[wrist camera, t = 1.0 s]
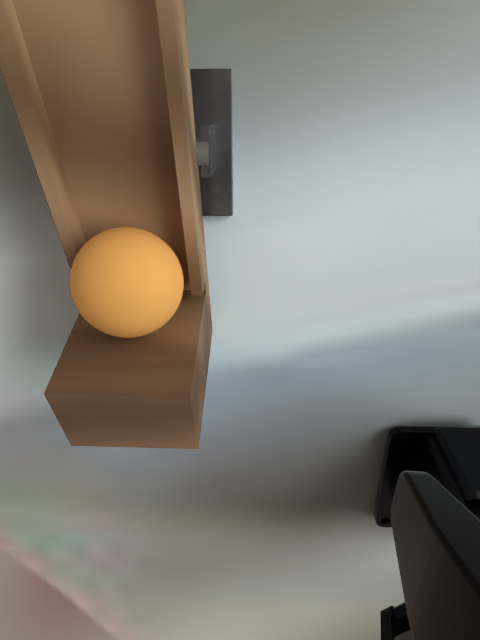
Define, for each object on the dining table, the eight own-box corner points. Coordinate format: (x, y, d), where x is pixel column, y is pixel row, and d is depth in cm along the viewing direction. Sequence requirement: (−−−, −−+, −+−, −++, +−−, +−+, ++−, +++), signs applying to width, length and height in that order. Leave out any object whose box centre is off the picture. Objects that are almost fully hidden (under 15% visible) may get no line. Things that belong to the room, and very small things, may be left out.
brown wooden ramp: (220, 325, 20) (208, 449, 16) (106, 323, 20) (61, 445, 16) (182, -248, 9) (101, -387, 4) (-72, -239, 9) (-389, -361, 5)
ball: (193, 301, 17) (179, 361, 14) (101, 300, 17) (67, 359, 14) (186, 210, 15) (167, 258, 12) (81, 210, 15) (37, 257, 12)
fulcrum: (232, 213, 18) (229, 227, 16) (74, 212, 18) (50, 226, 16) (231, 69, 16) (226, 64, 14) (51, 71, 16) (19, 66, 14)
